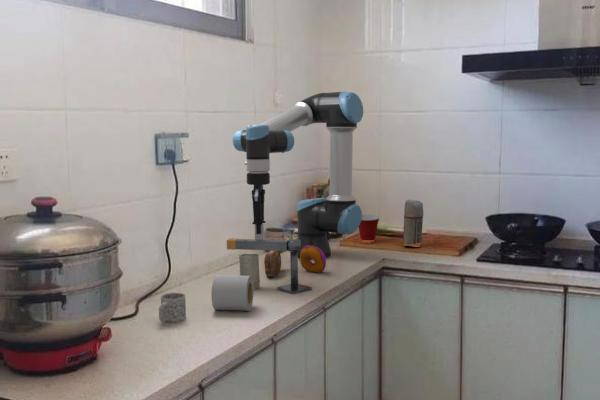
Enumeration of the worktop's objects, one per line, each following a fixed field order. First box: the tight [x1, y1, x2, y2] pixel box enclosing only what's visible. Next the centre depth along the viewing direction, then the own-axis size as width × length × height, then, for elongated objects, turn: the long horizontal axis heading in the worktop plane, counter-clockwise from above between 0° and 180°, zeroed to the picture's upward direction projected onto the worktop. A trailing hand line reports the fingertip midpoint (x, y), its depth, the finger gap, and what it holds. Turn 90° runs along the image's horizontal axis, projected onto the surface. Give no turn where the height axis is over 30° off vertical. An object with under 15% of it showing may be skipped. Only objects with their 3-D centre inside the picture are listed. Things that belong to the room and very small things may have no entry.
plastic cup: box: [358, 213, 381, 240], centre depth 283 cm, size 11×11×12 cm
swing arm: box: [226, 237, 301, 252], centre depth 207 cm, size 24×4×3 cm, turn 78°
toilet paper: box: [210, 274, 255, 312], centre depth 186 cm, size 10×10×10 cm
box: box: [238, 252, 261, 290], centre depth 209 cm, size 5×4×11 cm
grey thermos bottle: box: [402, 199, 424, 244], centre depth 273 cm, size 8×8×20 cm
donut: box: [299, 245, 327, 273], centre depth 229 cm, size 8×9×10 cm
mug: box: [158, 292, 187, 324], centre depth 176 cm, size 10×7×7 cm
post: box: [276, 251, 313, 295], centre depth 206 cm, size 8×8×12 cm
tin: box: [263, 250, 282, 278], centre depth 227 cm, size 15×3×8 cm, turn 168°
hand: (259, 243), depth 212 cm, fingers closed
